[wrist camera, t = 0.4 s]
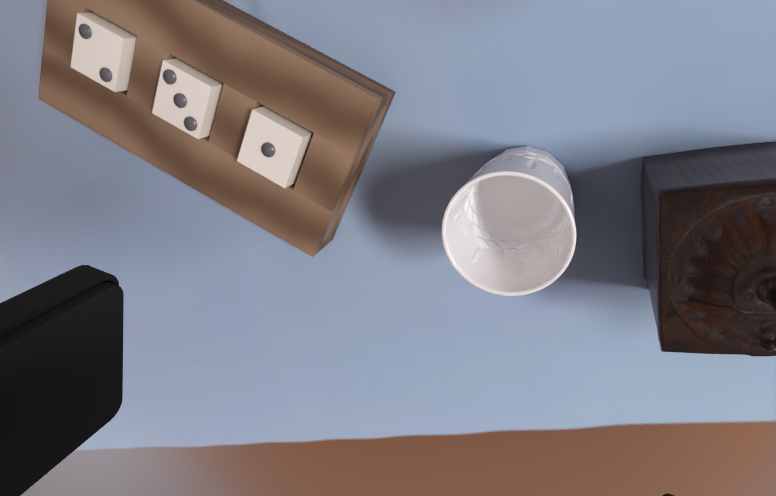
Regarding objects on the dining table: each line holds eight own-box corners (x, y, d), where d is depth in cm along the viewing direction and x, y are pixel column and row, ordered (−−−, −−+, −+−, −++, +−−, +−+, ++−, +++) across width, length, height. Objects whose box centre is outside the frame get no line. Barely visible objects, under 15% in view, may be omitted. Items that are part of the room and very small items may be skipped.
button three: (186, 57, 44) (161, 60, 42) (232, 83, 44) (210, 87, 41) (175, 107, 46) (150, 113, 44) (219, 132, 46) (196, 139, 43)
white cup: (480, 243, 44) (453, 299, 36) (463, 146, 42) (430, 181, 33) (584, 234, 41) (582, 292, 33) (573, 129, 39) (568, 162, 30)
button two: (105, 12, 45) (75, 12, 42) (149, 37, 45) (122, 38, 42) (97, 64, 47) (68, 67, 44) (139, 88, 47) (113, 92, 44)
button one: (271, 103, 43) (251, 109, 41) (319, 130, 43) (302, 137, 40) (255, 153, 45) (235, 161, 43) (301, 178, 45) (284, 188, 42)
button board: (96, -67, 45) (55, -74, 42) (395, 92, 42) (377, 99, 39) (75, 92, 52) (38, 98, 48) (332, 239, 49) (312, 257, 45)
